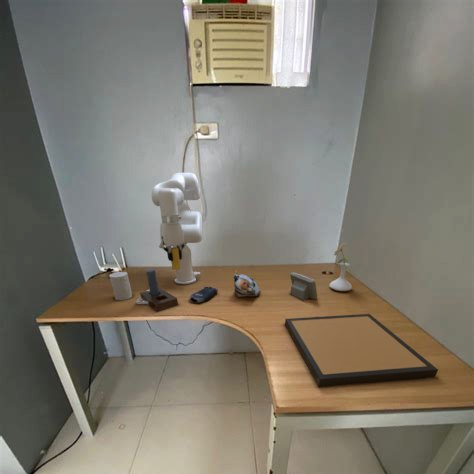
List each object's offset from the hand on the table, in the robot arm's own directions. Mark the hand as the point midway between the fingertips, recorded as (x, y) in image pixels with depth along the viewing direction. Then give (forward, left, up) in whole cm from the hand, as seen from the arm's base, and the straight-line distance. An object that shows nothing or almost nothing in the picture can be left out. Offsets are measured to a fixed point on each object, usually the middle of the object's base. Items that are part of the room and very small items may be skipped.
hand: (175, 259), depth 123 cm
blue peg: (+12, -3, -19) cm, 22 cm away
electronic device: (-7, +11, -19) cm, 23 cm away
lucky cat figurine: (-26, +23, -19) cm, 40 cm away
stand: (+12, +1, -19) cm, 22 cm away
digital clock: (-47, +42, -19) cm, 66 cm away
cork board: (-22, +81, -19) cm, 86 cm away
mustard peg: (0, 0, -4) cm, 4 cm away
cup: (+23, -17, -19) cm, 34 cm away
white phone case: (+13, -6, -17) cm, 23 cm away
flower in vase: (-68, +50, -19) cm, 87 cm away
